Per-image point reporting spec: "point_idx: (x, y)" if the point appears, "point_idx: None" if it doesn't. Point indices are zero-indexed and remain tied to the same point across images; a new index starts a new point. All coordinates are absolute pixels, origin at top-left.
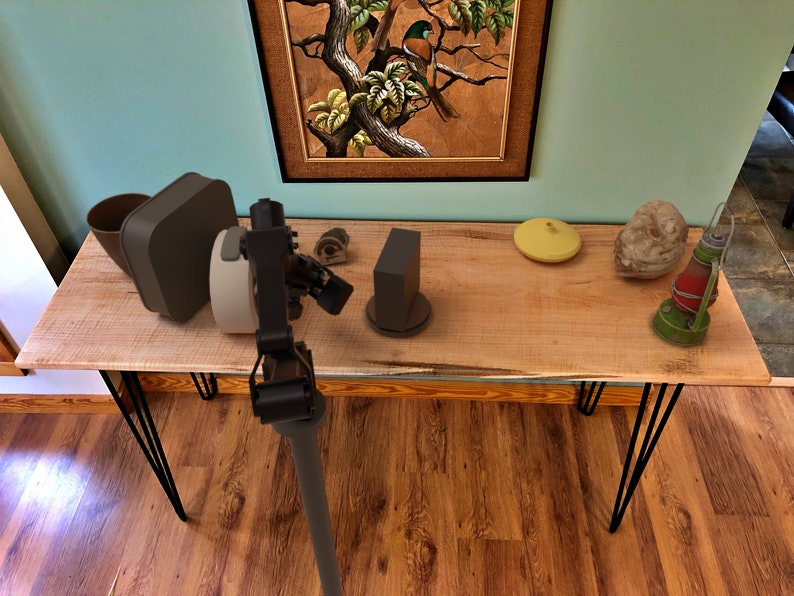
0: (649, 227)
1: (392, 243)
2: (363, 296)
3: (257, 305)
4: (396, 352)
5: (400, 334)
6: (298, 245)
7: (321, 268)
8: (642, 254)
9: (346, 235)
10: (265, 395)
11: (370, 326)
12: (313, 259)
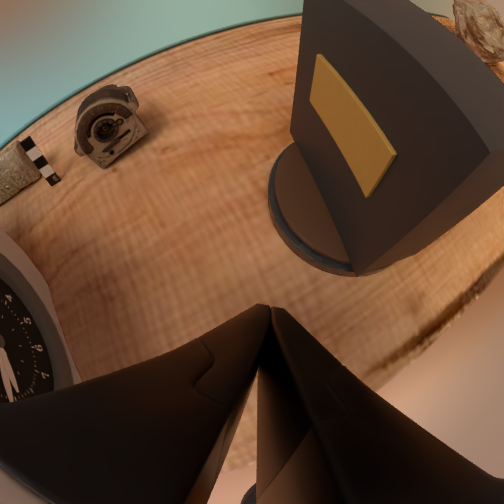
0: (493, 17)
1: (378, 10)
2: (237, 191)
3: (44, 381)
4: (413, 303)
5: None
6: (45, 159)
7: (223, 433)
8: (499, 42)
9: (122, 89)
10: None
11: (319, 268)
12: (33, 487)
